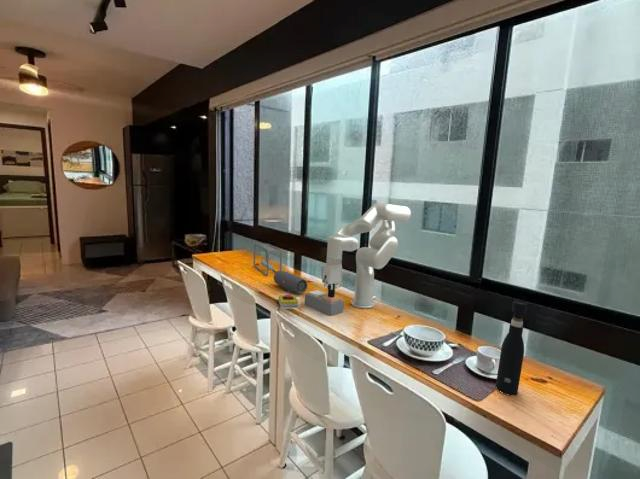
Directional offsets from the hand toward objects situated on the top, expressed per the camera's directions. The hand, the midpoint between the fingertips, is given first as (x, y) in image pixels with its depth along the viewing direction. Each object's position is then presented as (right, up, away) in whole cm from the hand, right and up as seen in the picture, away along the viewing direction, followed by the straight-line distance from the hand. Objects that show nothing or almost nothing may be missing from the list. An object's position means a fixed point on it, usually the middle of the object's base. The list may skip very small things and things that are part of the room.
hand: (331, 296), depth 173 cm
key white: (-7, -4, +8) cm, 11 cm away
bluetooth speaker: (-24, -2, +32) cm, 40 cm away
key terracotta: (0, -5, +1) cm, 5 cm away
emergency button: (-22, -6, +9) cm, 25 cm away
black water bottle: (+56, -21, -60) cm, 84 cm away
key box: (-4, -7, +5) cm, 9 cm away
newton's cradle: (-44, +6, +73) cm, 86 cm away
